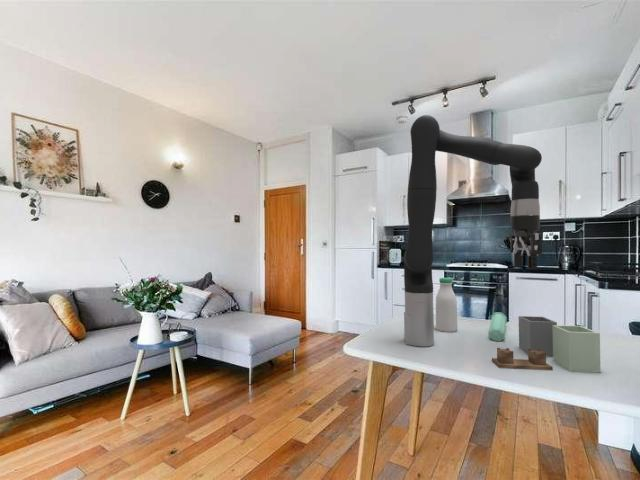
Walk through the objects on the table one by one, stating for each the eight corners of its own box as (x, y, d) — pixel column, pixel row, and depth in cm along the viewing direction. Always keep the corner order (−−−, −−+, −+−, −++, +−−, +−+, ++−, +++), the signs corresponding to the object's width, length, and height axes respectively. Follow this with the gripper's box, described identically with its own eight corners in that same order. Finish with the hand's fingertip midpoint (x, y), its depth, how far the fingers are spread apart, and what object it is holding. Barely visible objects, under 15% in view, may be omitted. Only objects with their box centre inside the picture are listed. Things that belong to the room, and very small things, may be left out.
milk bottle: (460, 332, 118) (459, 279, 118) (440, 332, 118) (439, 279, 118) (452, 327, 125) (451, 277, 126) (433, 327, 126) (432, 277, 126)
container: (501, 324, 106) (503, 310, 127) (483, 329, 108) (488, 314, 130) (509, 342, 104) (510, 324, 126) (491, 346, 107) (494, 328, 128)
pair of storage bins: (552, 370, 82) (551, 331, 82) (519, 347, 100) (518, 316, 100) (600, 372, 80) (599, 333, 80) (557, 349, 98) (557, 317, 98)
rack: (499, 367, 84) (499, 352, 84) (491, 360, 89) (491, 346, 89) (552, 370, 82) (552, 354, 82) (542, 363, 87) (541, 348, 87)
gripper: (501, 217, 104) (501, 266, 103) (523, 212, 90) (523, 269, 89) (526, 217, 103) (526, 266, 102) (551, 212, 88) (552, 270, 88)
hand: (524, 268), depth 96 cm, fingers open, 8 cm apart
